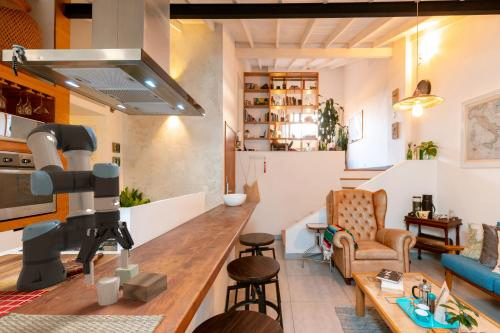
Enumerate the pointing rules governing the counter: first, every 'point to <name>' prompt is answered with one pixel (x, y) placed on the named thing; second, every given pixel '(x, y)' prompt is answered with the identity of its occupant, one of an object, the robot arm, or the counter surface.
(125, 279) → the sage block
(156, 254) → the counter surface
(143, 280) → the walnut block
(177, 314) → the counter surface
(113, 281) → the shot glass
